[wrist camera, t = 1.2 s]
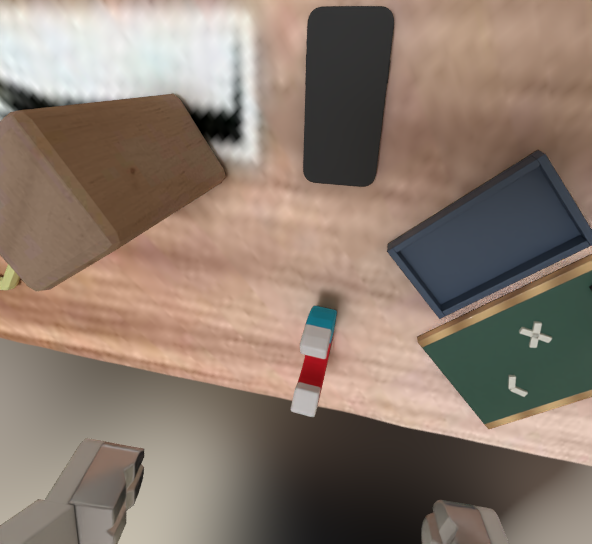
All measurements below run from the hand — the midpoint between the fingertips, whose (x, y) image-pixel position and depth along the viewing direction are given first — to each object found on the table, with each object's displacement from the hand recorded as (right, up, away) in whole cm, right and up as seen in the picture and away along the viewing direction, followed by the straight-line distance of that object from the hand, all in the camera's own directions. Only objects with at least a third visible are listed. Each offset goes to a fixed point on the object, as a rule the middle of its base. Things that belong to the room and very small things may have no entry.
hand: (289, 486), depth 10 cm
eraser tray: (+19, +9, +28) cm, 35 cm away
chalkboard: (+29, -2, +32) cm, 43 cm away
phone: (+5, +22, +26) cm, 34 cm away
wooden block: (-14, +19, +32) cm, 40 cm away
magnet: (+4, -1, +38) cm, 38 cm away
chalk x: (+26, -1, +31) cm, 40 cm away
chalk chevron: (+26, -7, +34) cm, 43 cm away
